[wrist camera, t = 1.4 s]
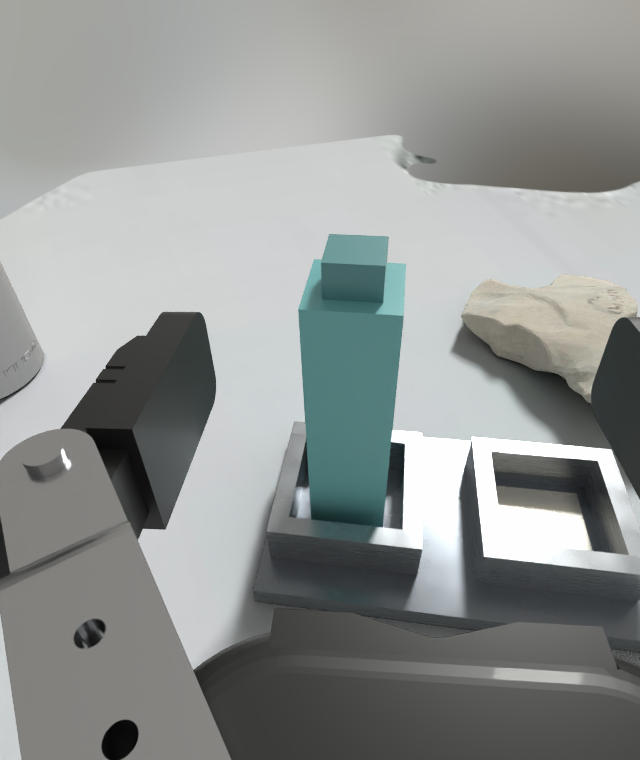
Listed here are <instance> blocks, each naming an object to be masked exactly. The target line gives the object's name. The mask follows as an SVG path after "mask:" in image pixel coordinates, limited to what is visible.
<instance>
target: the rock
mask: <svg viewBox="0 0 640 760" xmlns="http://www.w3.org/2000/svg"><path fill="white" fill-rule="evenodd" d="M636 316H637V304H636V301H635V300H634V299H633V298H632V297H631V296H630V294H629V293H628V292H627V290H626V289H625V288H623V287H621V286H618V285H615V284H612V283H611V282H609V281H604V280H599V279H594V278H590V277H586V276H577V275H566V274H564V275H560V276H559V277H557V279H556V280H555V281H554V282H553V283H552V284H551V285H550V286H547V287H542V288H538V289H530V288H523V287H518V286H512V285H508V284H505V283H502V282H499V281H497V280H493V279H489V280H486V281H484V282H483V283H481V284H480V285H479V286H478V287H477V288H476V289H475V290H474V291H473V292H472V293H471V296H470V300H469V301H468V302H467V303H466V305H465V308H464V311H463V312H462V316H461V317H462V319H463V321H464V322H465V324H466V325H467V327H468V328H469V329H470V330H471V331H472V332H473V333H474V334H476V335H477V336H478V337H479V338H481V339H482V340H483V341H484V342H486V343H487V344H488V345H489V346H490V348H491V349H492V351H493V353H495V354H496V355H497V356H499V357H502V358H506V359H509V360H512V361H515V362H518V363H521V364H523V365H525V366H528V367H529V368H531V369H533V370H536V371H543V372H551V373H556V374H558V375H560V376H562V377H563V378H564V379H566V381H567V383H568V385H569V387H570V388H571V389H573V390H574V391H575V392H577V393H579V394H581V395H582V396H583V397H584V399H585V400H586V401H587V402H589V403H591V389H592V385H593V381H594V378H595V376H596V373H597V370H598V367H599V364H600V361H601V358H602V356H603V353H604V350H605V347H606V344H607V341H608V339H609V336H610V333H611V330H612V328H613V326H614V324H615V323H616V321H617V320H618V319H620V318H622V317H636Z"/></svg>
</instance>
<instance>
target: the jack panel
mask: <svg viewBox="0 0 640 760" xmlns="http://www.w3.org/2000/svg"><path fill="white" fill-rule="evenodd" d="M266 533H267V536H266V540H265V544H264V548H263V552H262V556H261V560H260V564H259V568H258V572H257V576H256V580H255V584H254V588H253V593H254V598H255V601H259V602H266V603H274V604H281V605H289V606H296V607H303V608H311V609H318V610H326V611H333V612H349V613H355V614H358V615H363V616H371V617H378V618H386V619H393V620H401V621H408V622H416V623H423V624H431V625H438V626H446V627H453V628H461V629H468V630H476V631H478V630H483V629H488V628H493V627H497V626H502V625H507V624H512V623H516V622H527V623H545V624H563V625H581V626H599V627H603V630H604V633H605V635H606V638H607V641H608V643H609V646H610V649H618V650H625V651H633V652H640V526H639V523H638V521H637V518H636V515H635V512H634V510H633V507H632V504H631V502H630V499H629V496H628V493H627V491H626V488H625V485H624V482H623V480H622V477H621V474H620V472H619V469H618V466H617V463H616V461H615V458H614V455H613V452H612V450H611V449H601V448H590V447H579V446H567V445H556V444H545V443H533V442H522V441H511V440H499V439H488V438H477V437H472V439H471V441H463V440H452V439H441V438H430V437H422V433H420V432H409V431H397V430H392V438H391V449H390V459H389V469H388V479H387V489H386V499H385V509H384V519H383V528H382V527H373V526H364V525H356V524H347V523H338V522H329V521H320V520H311V506H310V490H309V474H308V458H307V441H306V425H305V422H295V421H294V424H293V428H292V432H291V436H290V440H289V444H288V448H287V451H286V455H285V459H284V463H283V467H282V471H281V475H280V479H279V483H278V487H277V491H276V495H275V499H274V503H273V507H272V510H271V514H270V518H269V522H268V526H267V530H266Z"/></svg>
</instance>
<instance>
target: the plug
mask: <svg viewBox="0 0 640 760" xmlns="http://www.w3.org/2000/svg"><path fill="white" fill-rule="evenodd" d="M388 239H389V237H386V236H362V235H338V234H329V237H328V241H327V244H326V247H325V251H324V254H323V258H322V260H316V259H314V262H313V265H312V268H311V271H310V274H309V278H308V281H307V284H306V287H305V290H304V293H303V296H302V300H301V303H300V306H299V309H298V311H299V328H300V344H301V360H302V376H303V393H304V409H305V425H306V441H307V458H308V474H309V490H310V506H311V520H320V521H329V522H338V523H347V524H356V525H364V526H373V527H382V528H383V519H384V509H385V499H386V489H387V479H388V469H389V459H390V449H391V438H392V428H393V418H394V408H395V398H396V388H397V378H398V368H399V358H400V347H401V337H402V327H403V317H404V295H405V271H406V264H399V263H387V254H388Z"/></svg>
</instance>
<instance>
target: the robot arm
mask: <svg viewBox="0 0 640 760" xmlns="http://www.w3.org/2000/svg"><path fill="white" fill-rule="evenodd" d="M43 361H44V353H43V351H42V349H41V347H40V345H39V342H38V340H37V338H36V336H35V334H34V332H33V330H32V328H31V326H30V323H29V321H28V319H27V317H26V315H25V312H24V310H23V308H22V306H21V304H20V302H19V300H18V298H17V296H16V294H15V291H14V289H13V287H12V285H11V283H10V281H9V279H8V277H7V275H6V273H5V271H4V268H3V266H2V264H1V262H0V399H1V398H4V397H6V396H8V395H10V394H11V393H13V392H15V391H17V390H18V389H20V388H21V387H23V386H24V385H25V384H27V383H28V382H29V381H30V380H31V379H32V378H33V377H34V376H35V375H36V374H37V372H38V371H39V369H40V368H41V366H42V363H43ZM215 394H216V377H215V371H214V366H213V360H212V355H211V350H210V344H209V339H208V334H207V328H206V324H205V320H204V317H203V315H202V314H201V313H200V312H163V313H161V314H160V316H159V317H158V319H157V320H156V322H155V323H154V325H153V326H152V328H151V329H150V331H149V332H148V334H147V335H146V336H136V337H135V338H133V339H132V340H131V341H129V342H128V343H126V344H125V345H123V346H122V347H120V348H119V349H118V350H117V351H116V352H115V354H114V355H113V356H112V358H111V359H110V361H109V362H108V363H107V365H106V369H103V370H102V372H101V373H100V375H99V376H98V377H97V379H96V383H93V384H92V386H91V387H90V388H89V390H88V391H87V393H86V394H85V395H84V397H83V398H82V400H81V401H80V402H79V404H78V405H77V407H76V408H75V409H74V411H73V412H72V413H71V415H70V416H69V418H68V419H67V420H66V422H65V423H64V425H63V426H62V427H61V429H56V430H51V431H46V432H43V433H40V434H37V435H35V436H32V437H30V438H28V439H26V440H24V441H22V442H21V443H19V444H18V445H16V446H15V447H13V448H12V449H11V450H10V451H8V452H7V453H6V454H5V455H4V456H3V458H2V459H1V460H0V614H1V621H2V628H3V635H4V642H5V649H6V656H7V662H8V669H9V676H10V683H11V690H12V697H13V704H14V711H15V717H16V724H17V731H18V738H19V745H20V752H21V759H22V760H640V666H639V665H637V664H635V663H632V662H630V661H627V660H625V659H623V658H620V657H617V656H614V655H613V654H612V651H611V649H610V646H609V643H608V641H607V638H606V635H605V633H604V630H603V627H599V626H581V625H563V624H545V623H527V622H516V623H512V624H507V625H502V626H497V627H493V628H488V629H483V630H478V631H473V632H469V633H464V634H459V635H454V636H450V637H444V638H433V637H428V636H425V635H422V634H418V633H415V632H412V631H409V630H406V629H402V628H399V627H396V626H393V625H390V624H387V623H383V622H380V621H377V620H374V619H371V618H367V617H364V616H361V615H358V614H355V613H349V612H331V611H313V610H295V609H277V608H275V609H274V616H273V622H272V629H271V633H267V634H263V635H258V636H255V637H252V638H250V639H247V640H244V641H241V642H239V643H236V644H234V645H232V646H230V647H228V648H226V649H224V650H222V651H220V652H219V653H217V654H216V655H214V656H212V657H211V658H209V659H208V660H206V661H205V662H203V663H202V664H201V665H199V666H198V667H197V668H196V669H194V670H193V669H192V667H191V664H190V662H189V660H188V657H187V655H186V653H185V650H184V648H183V646H182V643H181V641H180V639H179V636H178V634H177V632H176V629H175V627H174V624H173V622H172V620H171V617H170V615H169V613H168V610H167V608H166V606H165V603H164V601H163V599H162V596H161V594H160V592H159V589H158V587H157V585H156V582H155V580H154V578H153V575H152V573H151V571H150V568H149V566H148V564H147V561H146V559H145V557H144V554H143V552H142V550H141V547H140V545H139V543H138V538H139V536H140V534H141V531H142V529H166V527H167V524H168V522H169V519H170V516H171V514H172V511H173V509H174V506H175V503H176V501H177V498H178V496H179V493H180V490H181V488H182V485H183V483H184V480H185V477H186V475H187V472H188V470H189V467H190V464H191V462H192V459H193V457H194V454H195V451H196V449H197V446H198V444H199V441H200V438H201V436H202V433H203V431H204V428H205V425H206V423H207V420H208V417H209V415H210V412H211V410H212V407H213V404H214V400H215ZM591 405H592V410H593V413H594V415H595V417H596V419H597V421H598V423H599V425H600V427H601V428H602V430H603V432H604V434H605V436H606V438H607V440H608V441H609V443H610V445H611V447H612V449H613V451H614V452H615V454H616V456H617V458H618V460H619V462H620V464H621V465H622V467H623V469H624V471H625V473H626V475H627V476H628V478H629V480H630V482H631V484H632V486H633V488H634V489H635V491H636V493H637V495H638V497H639V499H640V317H622V318H620V319H618V320H617V321H616V323H615V324H614V326H613V328H612V330H611V333H610V336H609V339H608V341H607V344H606V347H605V350H604V353H603V356H602V358H601V361H600V364H599V367H598V370H597V373H596V376H595V378H594V381H593V385H592V389H591Z"/></svg>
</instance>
